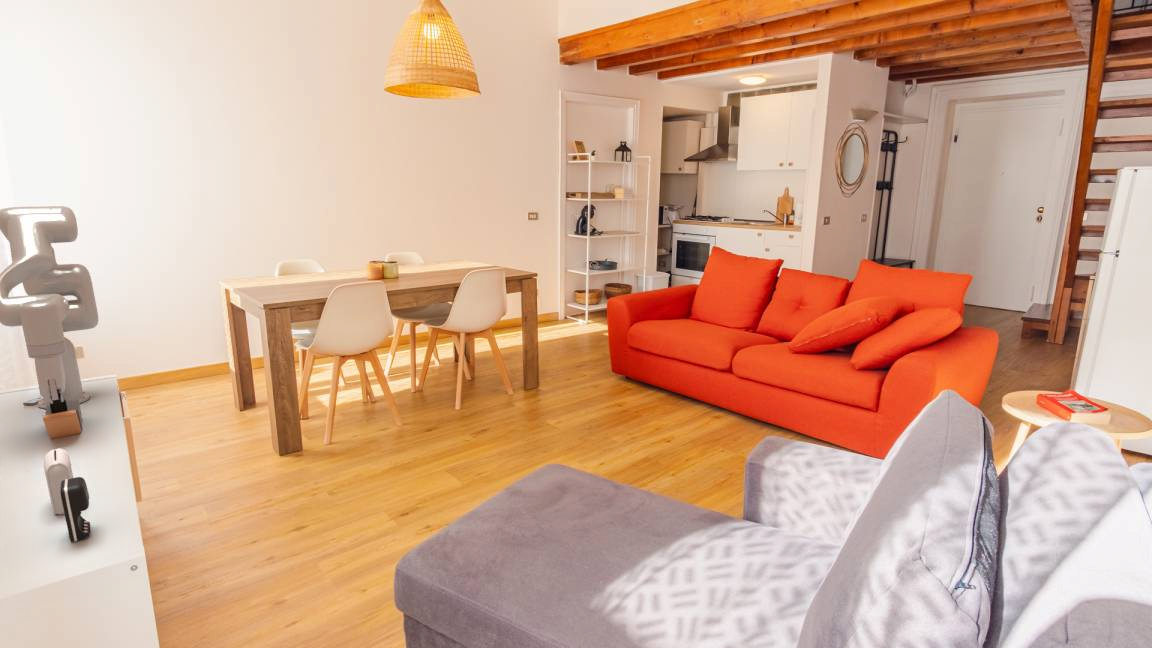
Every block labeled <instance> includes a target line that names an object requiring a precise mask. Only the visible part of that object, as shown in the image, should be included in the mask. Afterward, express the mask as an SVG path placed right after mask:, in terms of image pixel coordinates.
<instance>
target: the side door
mask: <svg viewBox="0 0 1152 648" xmlns="http://www.w3.org/2000/svg"><path fill="white" fill-rule="evenodd" d="M42 420H43V423H44V426H45V429H46V431H47V435H48V437H49V440H52V439H57V438H61V437H67V436H72V435H79V434H82V431H81V428H80V425H79V421H78V417H77V414H76V410H71V411H66V412H60V413H54V414H48V415H45V414H43V415H42Z"/></svg>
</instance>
